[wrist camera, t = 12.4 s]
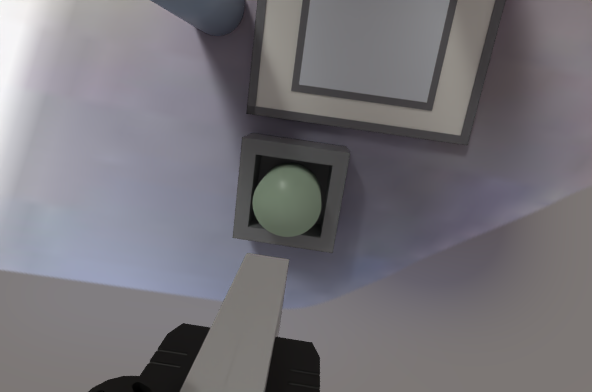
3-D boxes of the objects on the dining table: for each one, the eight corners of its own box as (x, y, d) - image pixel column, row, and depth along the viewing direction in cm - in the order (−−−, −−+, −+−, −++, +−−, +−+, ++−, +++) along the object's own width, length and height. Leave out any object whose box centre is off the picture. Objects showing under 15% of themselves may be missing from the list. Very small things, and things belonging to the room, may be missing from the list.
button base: (251, 132, 27) (242, 137, 24) (346, 146, 27) (350, 153, 24) (242, 222, 29) (232, 237, 26) (330, 235, 29) (332, 253, 25)
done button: (263, 158, 25) (256, 165, 22) (325, 167, 25) (326, 176, 22) (256, 218, 26) (249, 231, 23) (316, 226, 26) (315, 241, 23)
